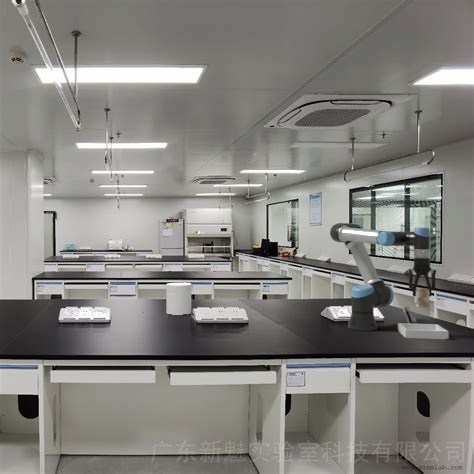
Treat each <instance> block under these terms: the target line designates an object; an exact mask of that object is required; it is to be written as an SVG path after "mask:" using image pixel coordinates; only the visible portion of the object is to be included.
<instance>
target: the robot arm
mask: <svg viewBox="0 0 474 474" xmlns="http://www.w3.org/2000/svg"><path fill="white" fill-rule="evenodd" d="M430 232H431V231H430V228H429V227H414V228H413V231H390V230H376V229H367V228H364V227H363V226H362V224H361V225H360V224H359V223H354V222H351V223H347V222H340V223H339V222H338V223H335V224H333V225H332V226H331V228H330V229H329V235H330V238H331V239H332V240H333V241H335V242H337V243H344V245H345V248H346V249H348V250H349V251H350V253H351V254H352V257H353V260H354V262H355V264H356V267H357V268H358V271H359V273H360V275H361V278H362V280H363V282H364V284H359V285H355V286H353V287H352V288H351V292H350V293H351V294H350V296H351V315H350V317H349V321H348V323H347V325H348V329H350V330H353V331H354V330H355V331H360V332H366V331H367V332H368V331H369V332H370V331H371V332H372V331H376V330H377V329H378V325H377V324H378V323H377V321H376V318H375V316H374V314H375V313H374V309H377V308H385V307H388V306H390V305H391V304H392V303H393V301H394V298H395V295H394V291H393V288H392V287H390V286H388V285H386V283H385V281H384V279H381V278H380V276H379V274H378V272H377V270H376V268H375V266H374V264H373V261H372V259H371V257H370V255H369V253H368V250H367V248H366V246H365V244H372V245H380V246H383V247H407V246H408V247H411V246H412V247H413V257H414V258H413V268H411V269H408V270H407V273H408V288H409V289H411V290H412V296H413V297H414V303H415V304H416V303H418V290H416V288H418V283H419V279H420V278H421V277H422V276H423V277H424V281H425V284H426V287H427V288H426V289H429V298H430V297H432V291H433V290H436V273H437V270H436V269H432V268H431V259H430V256H431V252H430V251H431V250H430V249H431V248H430V245H431V235H430V234H431V233H430ZM413 273H415V276H413ZM429 273H431V278H429ZM413 277H415V278H414V282H413ZM430 279H431V282H430Z"/></svg>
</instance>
